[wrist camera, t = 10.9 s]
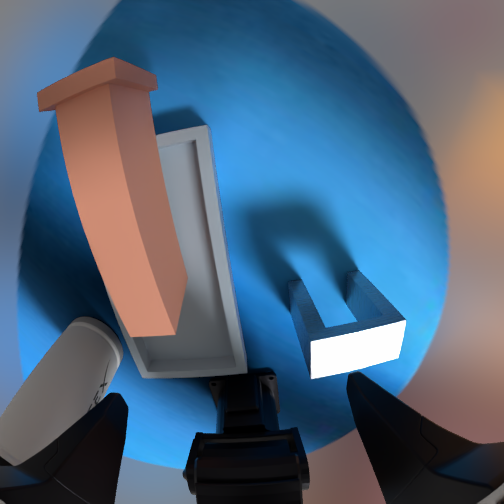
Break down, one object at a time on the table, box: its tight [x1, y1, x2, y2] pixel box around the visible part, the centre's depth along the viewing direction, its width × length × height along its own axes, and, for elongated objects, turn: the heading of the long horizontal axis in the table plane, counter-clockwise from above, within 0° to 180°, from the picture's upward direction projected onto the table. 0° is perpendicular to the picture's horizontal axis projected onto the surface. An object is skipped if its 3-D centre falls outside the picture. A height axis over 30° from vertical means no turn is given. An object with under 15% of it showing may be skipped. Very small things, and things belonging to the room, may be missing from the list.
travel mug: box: [0, 317, 123, 466], centre depth 13 cm, size 6×7×20 cm
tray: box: [103, 125, 247, 378], centre depth 20 cm, size 19×10×2 cm, turn 7°
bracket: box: [288, 270, 406, 379], centre depth 18 cm, size 3×6×8 cm, turn 97°
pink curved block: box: [37, 57, 188, 337], centre depth 14 cm, size 14×4×7 cm, turn 7°
